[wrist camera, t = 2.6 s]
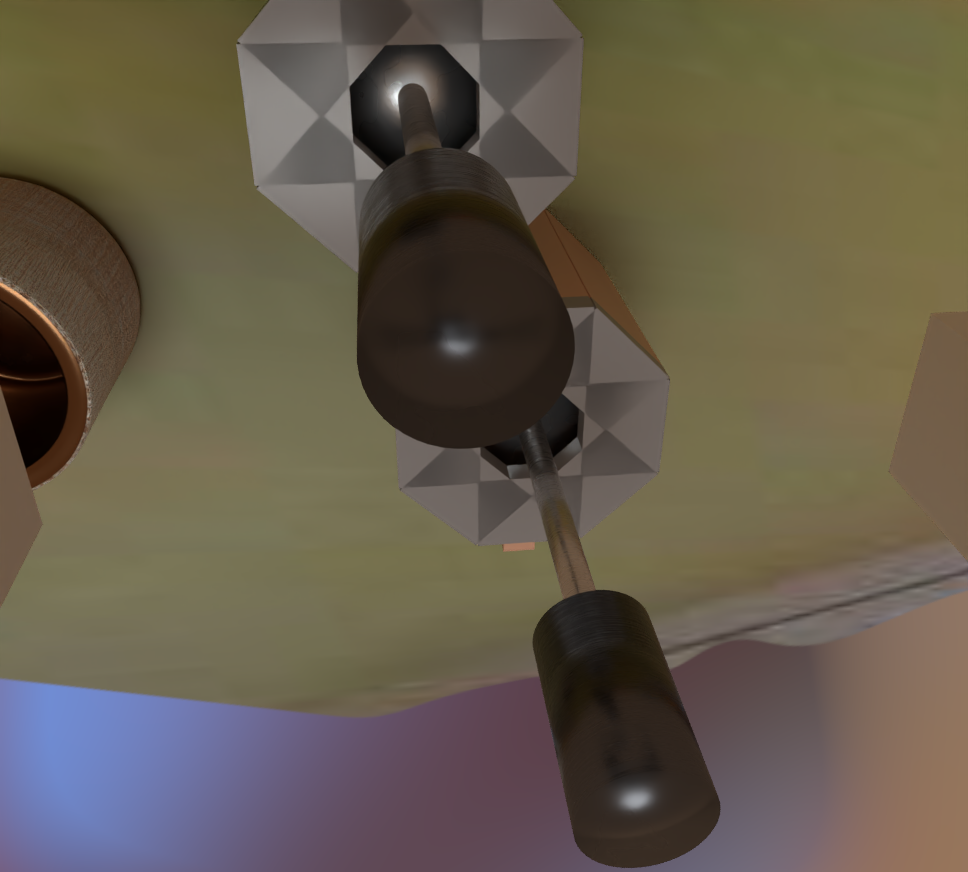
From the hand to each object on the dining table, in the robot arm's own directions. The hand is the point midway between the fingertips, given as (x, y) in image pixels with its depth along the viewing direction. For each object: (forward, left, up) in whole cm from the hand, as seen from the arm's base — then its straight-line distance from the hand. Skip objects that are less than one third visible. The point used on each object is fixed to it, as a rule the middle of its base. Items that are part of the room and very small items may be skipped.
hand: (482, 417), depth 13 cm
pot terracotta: (+13, +4, -30) cm, 33 cm away
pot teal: (-2, 0, -30) cm, 30 cm away
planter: (+10, -18, -31) cm, 37 cm away
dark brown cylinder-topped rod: (0, 0, -21) cm, 21 cm away
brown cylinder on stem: (+12, +4, -21) cm, 25 cm away
